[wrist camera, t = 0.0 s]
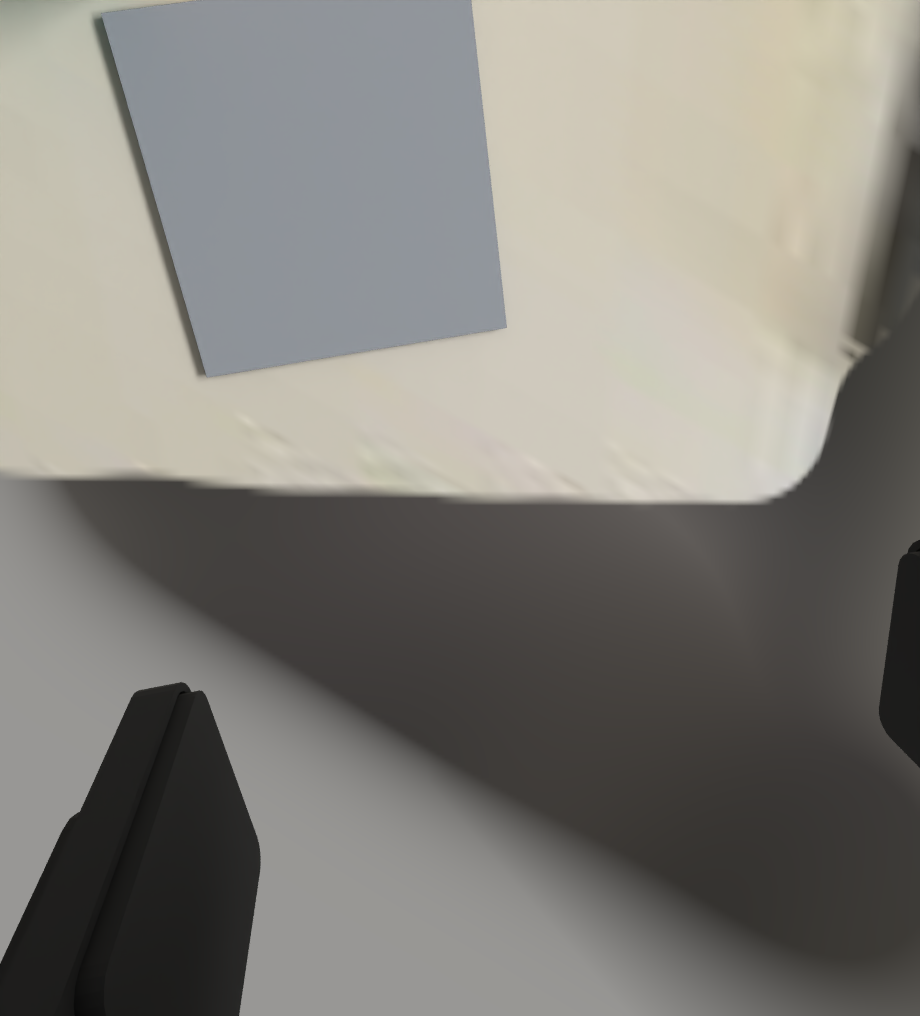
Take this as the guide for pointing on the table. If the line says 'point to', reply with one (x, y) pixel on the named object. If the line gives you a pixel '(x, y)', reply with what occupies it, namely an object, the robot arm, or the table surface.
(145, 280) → the table surface
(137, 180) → the table surface
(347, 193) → the mat
